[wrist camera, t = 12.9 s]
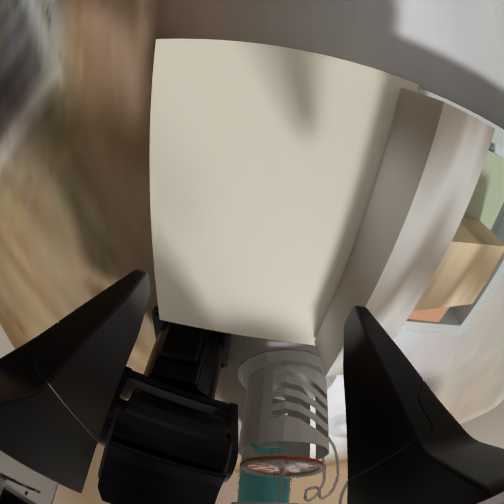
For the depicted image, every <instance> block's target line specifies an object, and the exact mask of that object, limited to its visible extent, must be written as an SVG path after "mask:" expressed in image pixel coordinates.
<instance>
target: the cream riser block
mask: <svg viewBox="0 0 504 504" xmlns="http://www.w3.org/2000/svg"><path fill="white" fill-rule="evenodd" d="M418 86H419V84H416V83H414V82H411V81H409V80H406V79H403V78H401V77H398V76H395V75H392V74H389V73H386V72H383V71H380V70H377V69H374V68H371V67H368V66H364V65H361V64H357V63H354V62H350V61H347V60H343V59H339V58H335V57H331V56H327V55H322V54H318V53H313V52H308V51H303V50H298V49H292V48H286V47H280V46H273V45H266V44H259V43H250V42H240V41H228V40H212V39H156V44H155V54H154V65H153V78H152V93H151V114H150V208H151V229H152V245H153V259H154V271H155V282H156V292H157V301H158V310H159V318H160V320H164V321H168V322H173V323H178V324H183V325H188V326H193V327H198V328H203V329H208V330H214V331H219V332H225V333H231V334H237V335H243V336H249V337H255V338H262V339H269V340H276V341H283V342H291V343H299V344H307V345H315V342H314V341H315V338H316V336H317V334H318V332H319V330H320V327H321V325H322V323H323V321H324V318H325V316H326V314H327V312H328V309H329V307H330V305H331V302H332V300H333V297H334V295H335V293H336V290H337V288H338V285H339V283H340V281H341V278H342V276H343V273H344V271H345V268H346V265H347V263H348V260H349V258H350V255H351V252H352V250H353V247H354V244H355V242H356V239H357V236H358V234H359V231H360V228H361V225H362V222H363V220H364V217H365V214H366V211H367V208H368V205H369V202H370V199H371V196H372V193H373V190H374V187H375V184H376V180H377V177H378V174H379V171H380V167H381V164H382V161H383V157H384V154H385V150H386V147H387V143H388V140H389V136H390V133H391V129H392V125H393V121H394V117H395V113H396V109H397V105H398V101H399V97H400V93H401V88H405V89H408V90H411V91H414V92H417V90H418Z"/></svg>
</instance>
